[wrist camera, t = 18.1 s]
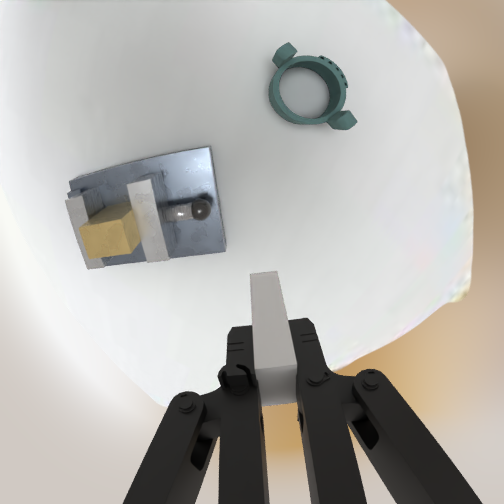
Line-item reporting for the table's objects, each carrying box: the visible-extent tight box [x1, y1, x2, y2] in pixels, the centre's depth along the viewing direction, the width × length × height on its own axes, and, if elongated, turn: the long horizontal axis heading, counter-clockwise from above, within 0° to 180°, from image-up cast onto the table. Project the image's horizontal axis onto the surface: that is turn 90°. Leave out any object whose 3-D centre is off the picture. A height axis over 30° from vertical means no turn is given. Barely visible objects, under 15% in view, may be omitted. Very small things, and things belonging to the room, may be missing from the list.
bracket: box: [269, 42, 357, 130], centre depth 25 cm, size 9×9×9 cm
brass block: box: [79, 201, 141, 259], centre depth 30 cm, size 4×6×8 cm, turn 97°
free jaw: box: [127, 172, 211, 263], centre depth 32 cm, size 10×9×4 cm
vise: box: [65, 146, 226, 269], centre depth 33 cm, size 14×21×6 cm, turn 97°
